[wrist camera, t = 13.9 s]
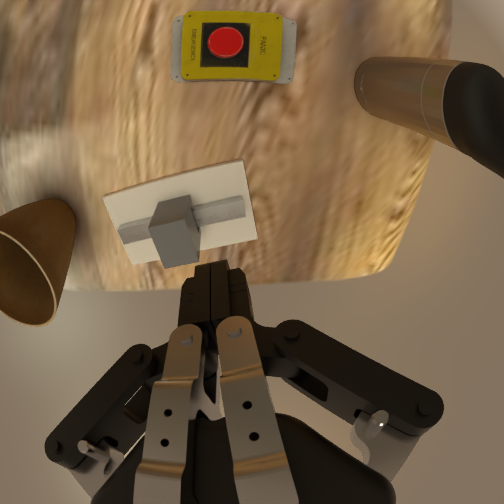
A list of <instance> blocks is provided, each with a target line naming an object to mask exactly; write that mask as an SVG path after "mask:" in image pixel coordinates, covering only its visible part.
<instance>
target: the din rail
mask: <svg viewBox="0 0 504 504" xmlns="http://www.w3.org/2000/svg"><path fill="white" fill-rule="evenodd" d="M191 210H192V214H193V217H194V220H195V223H196V227H201V226H205V225H210V224H214V223H219V222H224V221H228V220H233V219H238V218H243V217H246V213H245V209H244V204H243V199H242V196H237V197H232V198H227V199H223V200H218V201H214V202H209V203H205V204H200V205H196V206H192V207H191ZM151 219H152V216H151V217H147V218H144V219H140V220H136V221H133V222H129V223H125V224H122V225H120V226H119V228H118V229H117V231H118V233H119V236H120V238H121V240H122V242H123V244H124V245H125V244H129V243H133V242H137V241H141V240H145V239H149V238H151V235H150V233H149V230H148V226H149V224H150V221H151Z"/></svg>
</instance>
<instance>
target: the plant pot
mask: <svg viewBox="0 0 504 504" xmlns="http://www.w3.org/2000/svg"><path fill="white" fill-rule="evenodd" d="M75 230H76V220H75V216H74V213H73V211H72V210H71V208H70V207H69V206H68V205H67V204H66V203H65V202H63V201H61V200H59V199H47V200H41V201H37V202H33V203H30V204H27V205H24V206H21V207H19V208H16V209H14V210H12V211H10V212H8V213H6V214H4V215H2V216H0V312H1V313H3V314H4V315H5V316H7V317H8V318H10V319H12V320H13V321H16V322H18V323H20V324H23V325H26V326H30V327H41V326H45V325H47V324H49V323H50V322H51V321H52V320H53V319H54V317H55V314H56V311H57V308H58V305H59V301H60V297H61V294H62V291H63V287H64V284H65V280H66V276H67V272H68V268H69V264H70V260H71V255H72V250H73V244H74V238H75Z"/></svg>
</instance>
